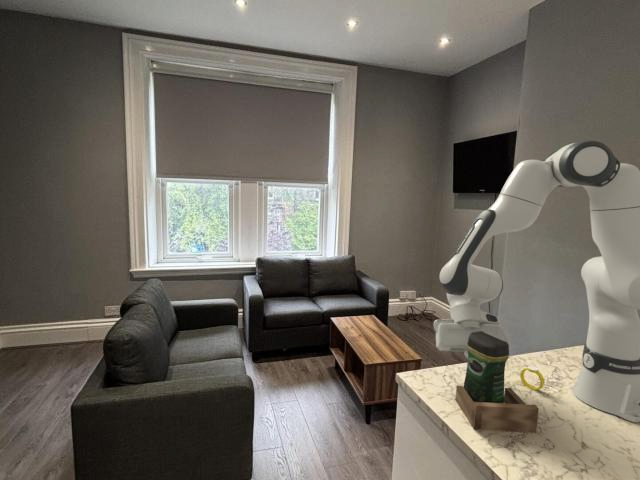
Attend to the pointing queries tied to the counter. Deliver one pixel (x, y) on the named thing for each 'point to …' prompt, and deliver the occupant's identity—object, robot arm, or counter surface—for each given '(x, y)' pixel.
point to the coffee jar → (486, 368)
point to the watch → (535, 370)
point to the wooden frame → (499, 413)
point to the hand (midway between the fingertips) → (477, 367)
